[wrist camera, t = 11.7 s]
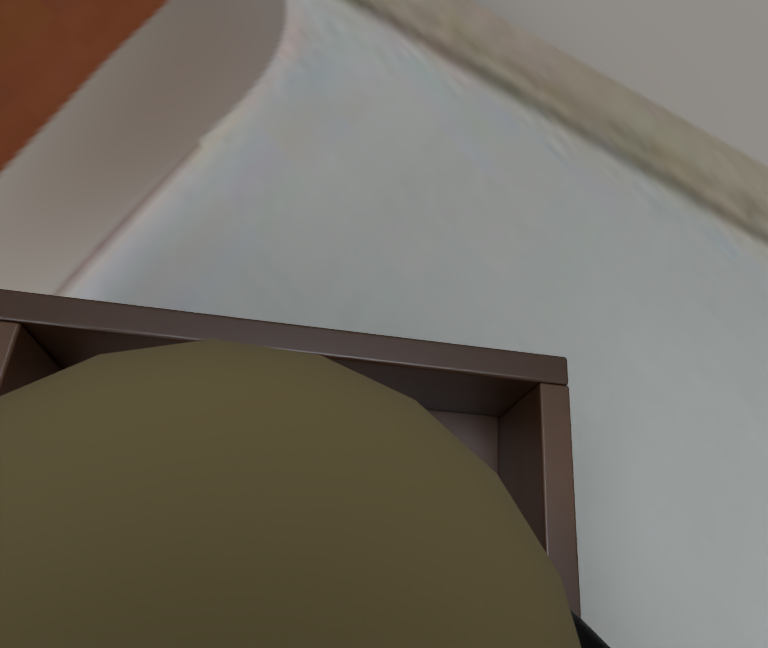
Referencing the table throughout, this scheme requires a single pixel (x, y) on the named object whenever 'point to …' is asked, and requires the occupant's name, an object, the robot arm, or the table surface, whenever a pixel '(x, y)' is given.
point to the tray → (367, 357)
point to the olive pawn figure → (255, 513)
